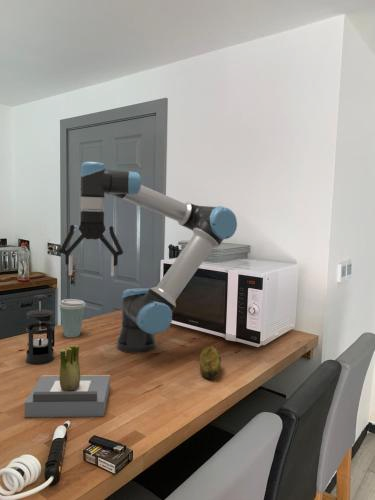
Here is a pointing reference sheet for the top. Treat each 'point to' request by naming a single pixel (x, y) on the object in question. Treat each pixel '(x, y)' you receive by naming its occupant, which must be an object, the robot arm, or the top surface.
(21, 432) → the top surface
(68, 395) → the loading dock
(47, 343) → the french press
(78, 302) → the disposable coffee cup
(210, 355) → the olive green oval lump
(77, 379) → the fennel bulb
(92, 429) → the top surface
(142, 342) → the robot arm
